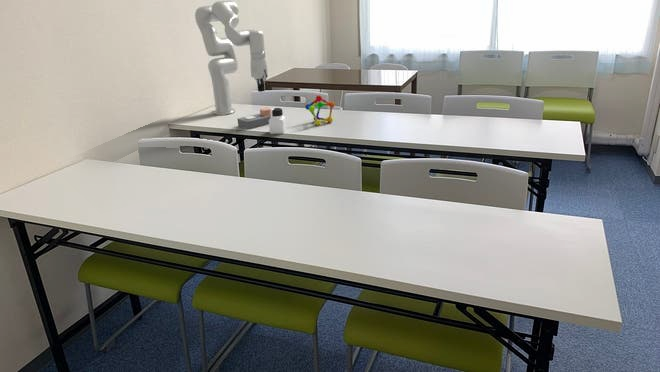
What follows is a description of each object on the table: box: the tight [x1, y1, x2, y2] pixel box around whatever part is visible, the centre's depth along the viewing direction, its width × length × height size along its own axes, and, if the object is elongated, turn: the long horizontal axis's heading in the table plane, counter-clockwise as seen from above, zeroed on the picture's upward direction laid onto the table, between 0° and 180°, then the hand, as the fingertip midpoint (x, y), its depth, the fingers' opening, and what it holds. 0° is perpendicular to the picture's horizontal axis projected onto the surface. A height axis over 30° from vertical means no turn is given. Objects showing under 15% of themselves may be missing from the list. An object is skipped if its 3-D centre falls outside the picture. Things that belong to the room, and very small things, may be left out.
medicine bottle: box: [268, 107, 287, 135], centre depth 245 cm, size 7×7×12 cm
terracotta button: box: [259, 107, 272, 116], centre depth 265 cm, size 4×4×4 cm
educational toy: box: [305, 94, 336, 126], centre depth 258 cm, size 16×13×15 cm
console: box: [236, 113, 271, 130], centre depth 263 cm, size 10×20×4 cm, turn 130°
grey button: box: [244, 115, 256, 120], centre depth 260 cm, size 4×4×4 cm
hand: (261, 91), depth 259 cm, fingers closed
